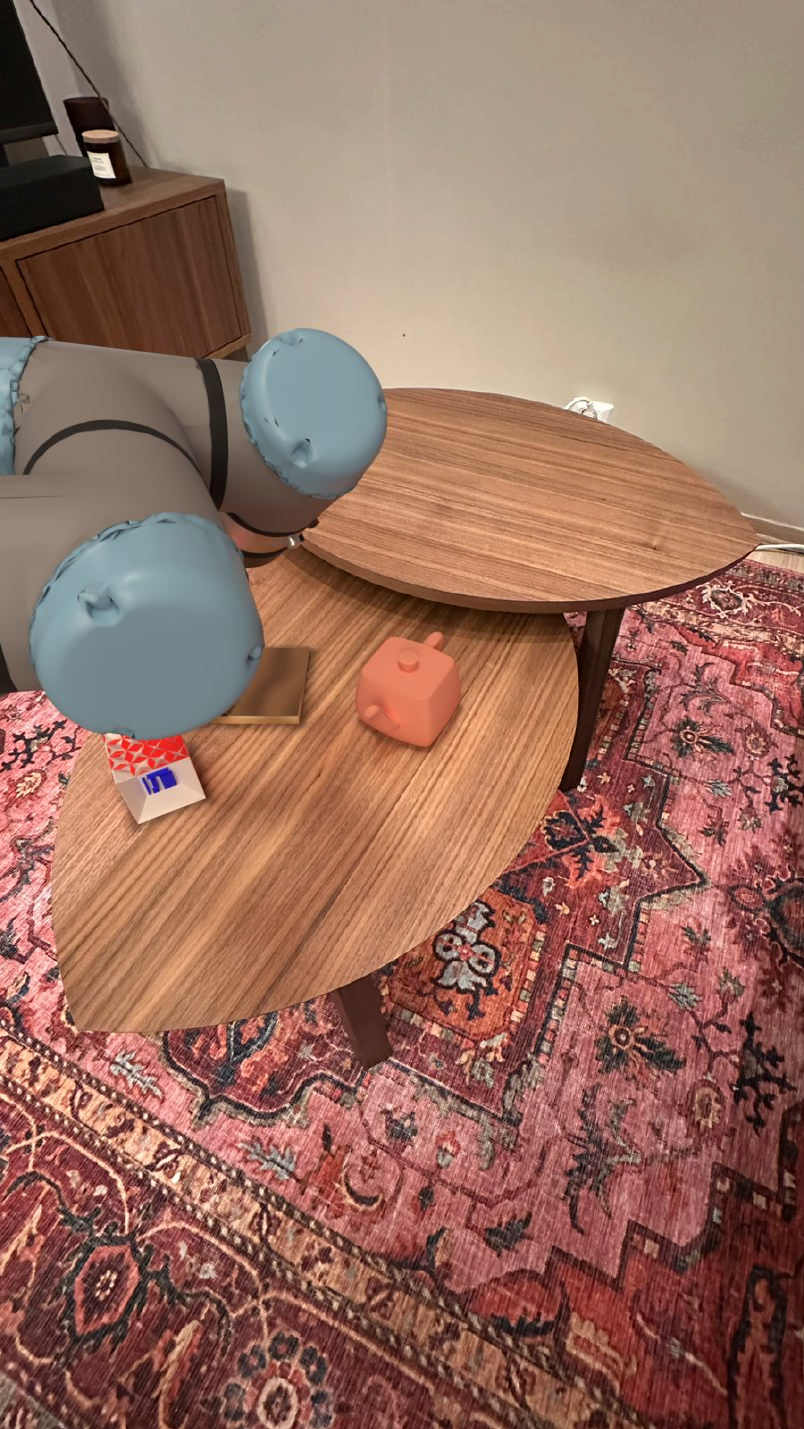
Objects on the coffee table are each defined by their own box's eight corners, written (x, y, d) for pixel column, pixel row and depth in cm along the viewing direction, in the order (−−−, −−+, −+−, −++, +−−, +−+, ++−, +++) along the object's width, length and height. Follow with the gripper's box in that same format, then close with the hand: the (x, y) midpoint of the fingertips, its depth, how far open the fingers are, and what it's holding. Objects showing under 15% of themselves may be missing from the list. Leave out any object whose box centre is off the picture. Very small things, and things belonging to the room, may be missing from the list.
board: (159, 723, 87) (156, 716, 86) (182, 653, 96) (179, 645, 95) (299, 724, 87) (298, 717, 86) (310, 653, 96) (309, 646, 94)
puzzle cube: (188, 750, 84) (171, 708, 78) (206, 798, 80) (189, 756, 74) (123, 774, 82) (100, 732, 76) (137, 824, 77) (114, 784, 72)
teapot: (476, 689, 91) (482, 630, 83) (410, 787, 80) (409, 730, 72) (401, 660, 94) (400, 601, 87) (329, 750, 84) (320, 692, 76)
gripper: (108, 629, 42) (96, 668, 61) (417, 489, 52) (324, 560, 71) (42, 517, 41) (51, 593, 60) (372, 396, 51) (290, 493, 70)
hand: (199, 575), depth 66 cm, fingers open, 13 cm apart
